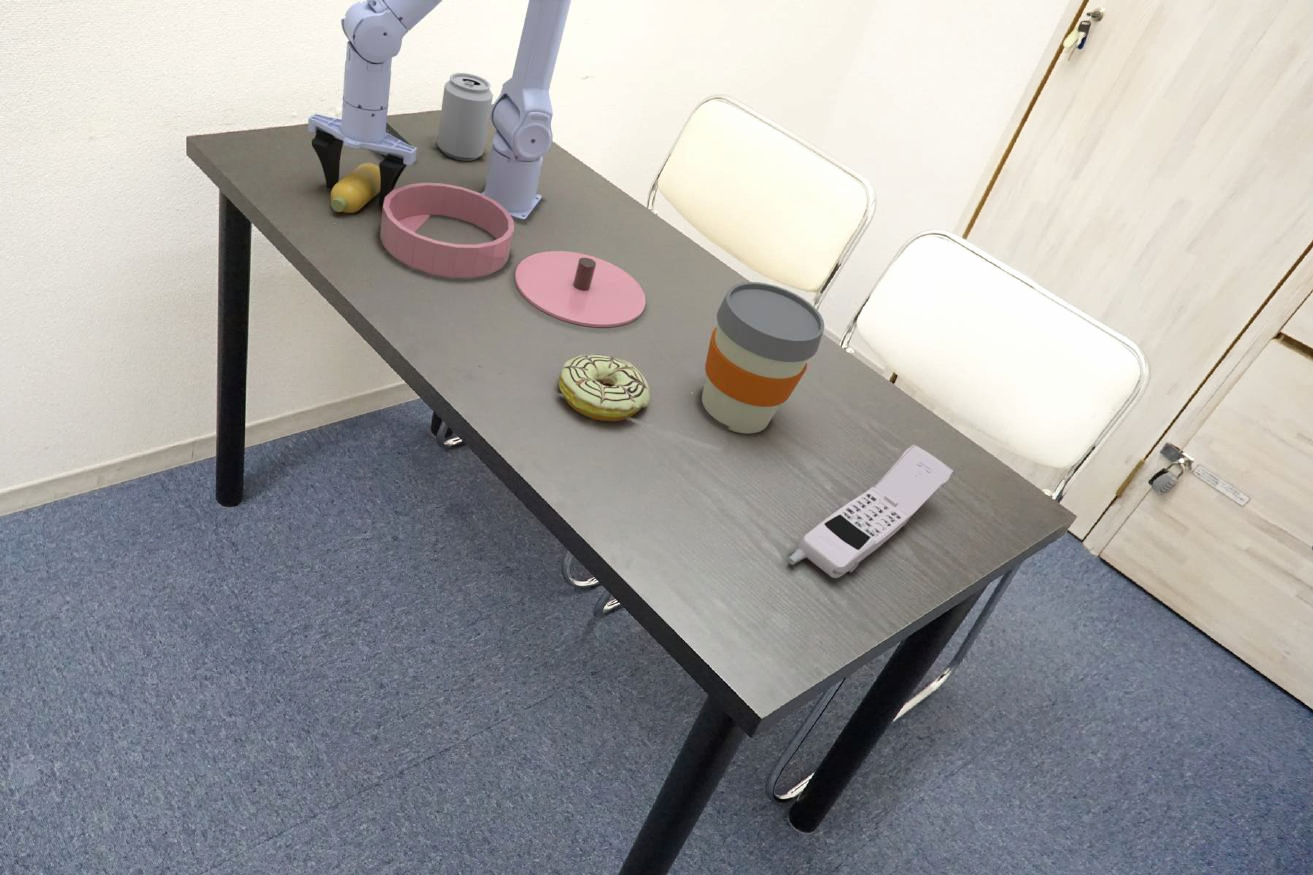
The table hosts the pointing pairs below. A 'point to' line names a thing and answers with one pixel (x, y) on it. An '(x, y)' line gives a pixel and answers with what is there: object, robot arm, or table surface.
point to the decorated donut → (603, 387)
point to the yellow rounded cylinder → (356, 188)
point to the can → (464, 116)
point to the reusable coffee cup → (758, 354)
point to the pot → (436, 257)
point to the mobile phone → (873, 514)
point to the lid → (580, 289)
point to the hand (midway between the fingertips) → (358, 195)
